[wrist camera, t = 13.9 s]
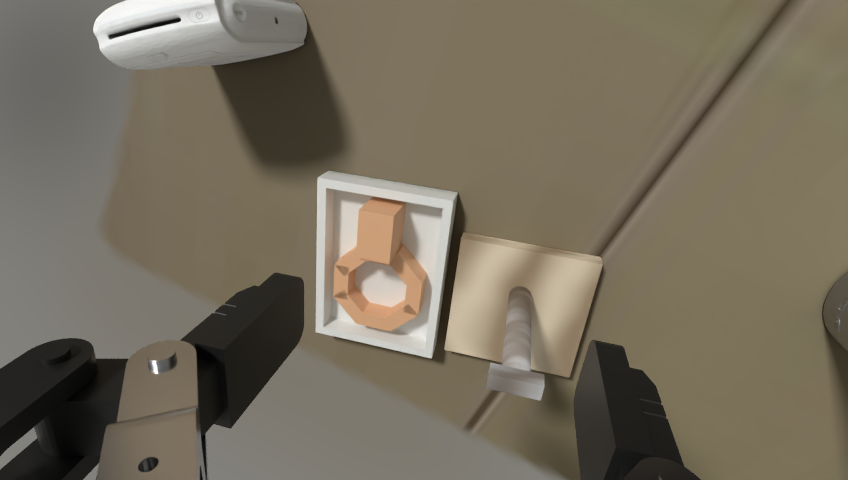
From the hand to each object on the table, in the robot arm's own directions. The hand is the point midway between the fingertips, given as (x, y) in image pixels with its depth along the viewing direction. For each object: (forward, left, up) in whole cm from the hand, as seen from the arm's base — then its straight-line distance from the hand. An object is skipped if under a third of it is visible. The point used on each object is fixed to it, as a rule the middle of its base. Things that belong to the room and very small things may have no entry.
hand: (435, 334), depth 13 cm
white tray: (+9, +13, -28) cm, 32 cm away
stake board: (-4, +14, -28) cm, 32 cm away
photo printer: (+22, -6, -28) cm, 36 cm away
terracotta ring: (+9, +13, -28) cm, 32 cm away
